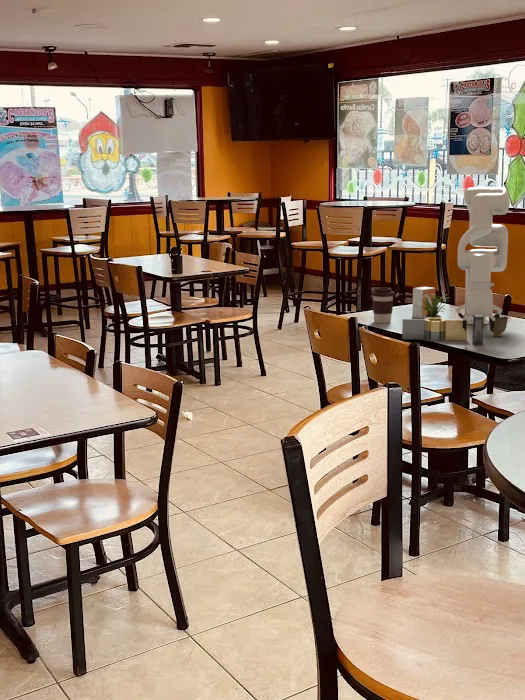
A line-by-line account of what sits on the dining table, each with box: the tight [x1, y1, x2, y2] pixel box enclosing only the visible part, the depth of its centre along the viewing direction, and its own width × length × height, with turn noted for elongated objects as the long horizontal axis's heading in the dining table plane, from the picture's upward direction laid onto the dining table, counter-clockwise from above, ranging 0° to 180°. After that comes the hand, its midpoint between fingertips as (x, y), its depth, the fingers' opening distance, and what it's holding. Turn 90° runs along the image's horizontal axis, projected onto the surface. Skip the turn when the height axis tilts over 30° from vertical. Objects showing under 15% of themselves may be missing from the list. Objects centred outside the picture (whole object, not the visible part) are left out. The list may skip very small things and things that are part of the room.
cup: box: [488, 315, 509, 338], centre depth 346 cm, size 8×7×8 cm
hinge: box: [401, 317, 469, 343], centre depth 342 cm, size 8×25×8 cm, turn 81°
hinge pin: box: [471, 314, 486, 346], centre depth 333 cm, size 5×5×12 cm
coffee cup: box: [371, 286, 395, 324], centre depth 378 cm, size 10×10×15 cm
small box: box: [412, 286, 436, 319], centre depth 390 cm, size 8×6×13 cm
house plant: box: [419, 293, 451, 319], centre depth 358 cm, size 14×14×16 cm
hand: (478, 330), depth 332 cm, fingers open, 9 cm apart
